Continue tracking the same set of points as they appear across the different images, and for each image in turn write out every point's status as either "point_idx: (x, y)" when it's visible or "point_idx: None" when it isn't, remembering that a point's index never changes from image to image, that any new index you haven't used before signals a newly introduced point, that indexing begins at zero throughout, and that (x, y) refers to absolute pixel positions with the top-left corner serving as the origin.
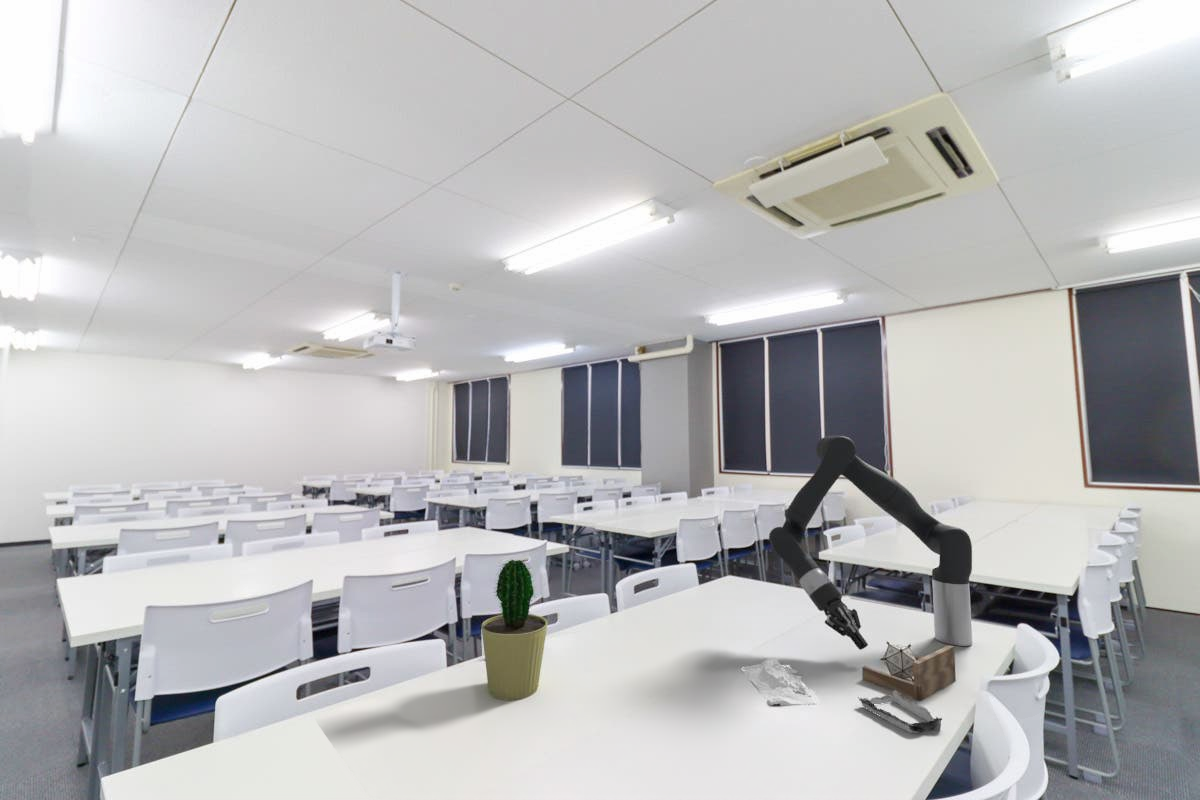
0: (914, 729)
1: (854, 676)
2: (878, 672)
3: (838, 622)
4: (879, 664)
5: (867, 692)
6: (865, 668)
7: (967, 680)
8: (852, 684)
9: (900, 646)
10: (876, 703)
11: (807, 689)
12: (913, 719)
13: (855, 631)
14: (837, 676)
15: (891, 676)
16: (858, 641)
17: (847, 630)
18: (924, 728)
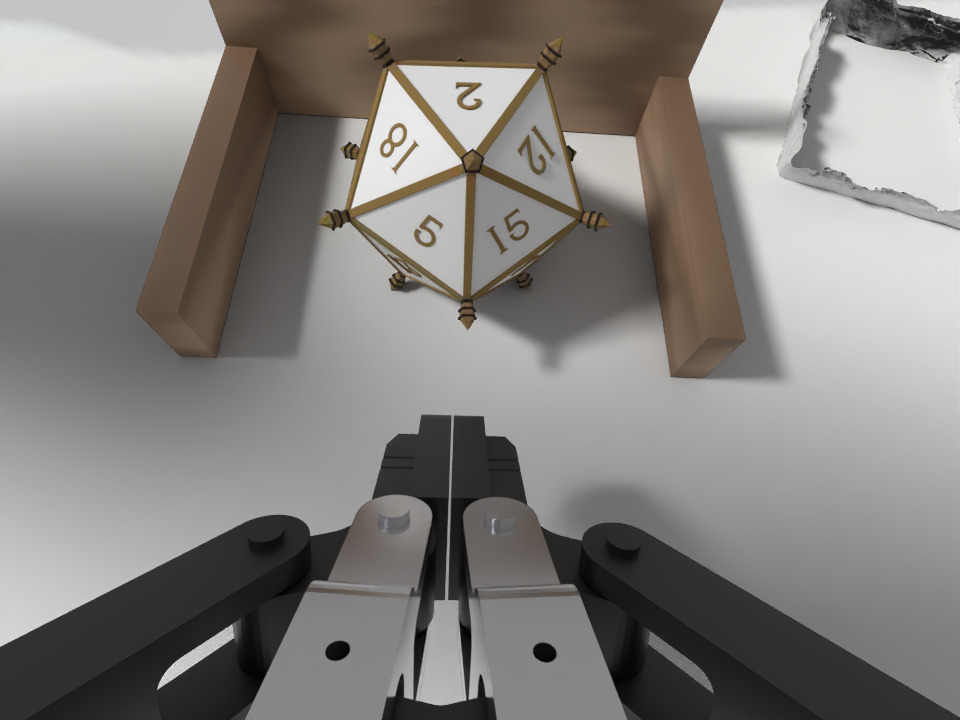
0: (943, 46)
1: (701, 438)
2: (718, 237)
3: (842, 684)
4: (329, 433)
5: (821, 288)
6: (740, 316)
7: (205, 66)
8: (819, 385)
9: (435, 97)
10: (894, 205)
11: None
12: (842, 88)
13: (485, 500)
14: (817, 513)
15: (697, 172)
16: (517, 463)
17: (655, 543)
18: (889, 37)
